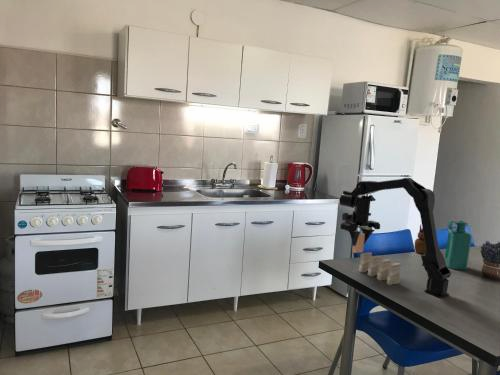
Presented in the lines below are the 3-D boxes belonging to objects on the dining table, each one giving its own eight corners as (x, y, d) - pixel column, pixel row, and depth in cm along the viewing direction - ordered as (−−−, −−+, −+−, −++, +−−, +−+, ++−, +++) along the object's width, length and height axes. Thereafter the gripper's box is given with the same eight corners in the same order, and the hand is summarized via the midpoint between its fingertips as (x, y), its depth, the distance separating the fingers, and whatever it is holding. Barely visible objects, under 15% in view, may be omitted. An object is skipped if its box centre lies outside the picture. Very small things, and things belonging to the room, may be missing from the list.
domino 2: (369, 271, 180) (371, 253, 179) (361, 272, 178) (363, 254, 176) (366, 270, 182) (369, 252, 180) (358, 271, 179) (360, 253, 178)
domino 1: (363, 251, 183) (365, 234, 182) (354, 252, 181) (356, 234, 180) (360, 250, 185) (362, 233, 184) (352, 251, 182) (354, 233, 181)
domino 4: (388, 279, 172) (390, 260, 171) (380, 280, 169) (382, 261, 168) (385, 277, 173) (387, 259, 172) (376, 279, 170) (379, 260, 169)
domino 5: (398, 283, 168) (400, 264, 167) (390, 284, 165) (392, 265, 164) (395, 282, 169) (397, 262, 168) (386, 283, 166) (389, 264, 165)
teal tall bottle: (460, 265, 201) (467, 220, 198) (468, 270, 193) (475, 224, 190) (439, 262, 202) (446, 218, 199) (446, 268, 193) (453, 221, 190)
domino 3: (378, 275, 176) (381, 256, 175) (370, 276, 173) (372, 257, 172) (375, 273, 177) (378, 255, 176) (367, 275, 175) (369, 256, 174)
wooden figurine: (412, 253, 216) (416, 224, 214) (414, 250, 221) (417, 222, 219) (426, 255, 213) (431, 226, 211) (427, 253, 218) (431, 225, 216)
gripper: (363, 205, 192) (359, 238, 194) (333, 206, 182) (329, 241, 184) (382, 210, 183) (378, 245, 185) (352, 212, 173) (348, 248, 175)
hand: (358, 245), depth 182 cm, fingers closed on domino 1, 5 cm apart
